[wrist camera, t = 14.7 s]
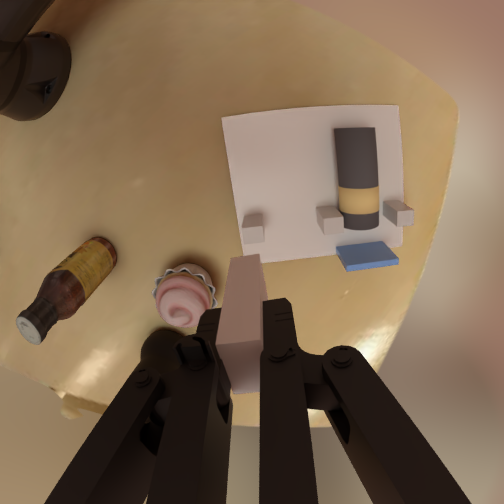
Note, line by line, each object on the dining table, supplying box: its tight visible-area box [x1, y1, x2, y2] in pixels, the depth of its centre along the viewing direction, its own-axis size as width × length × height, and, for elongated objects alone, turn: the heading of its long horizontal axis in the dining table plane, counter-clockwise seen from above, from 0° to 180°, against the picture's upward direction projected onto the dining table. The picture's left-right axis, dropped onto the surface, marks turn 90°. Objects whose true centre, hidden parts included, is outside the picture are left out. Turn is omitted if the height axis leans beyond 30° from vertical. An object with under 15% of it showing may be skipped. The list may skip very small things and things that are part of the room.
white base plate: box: [221, 105, 414, 272], centre depth 34 cm, size 20×23×7 cm
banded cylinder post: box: [334, 127, 379, 230], centre depth 33 cm, size 12×5×5 cm, turn 8°
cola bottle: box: [126, 330, 183, 381], centre depth 35 cm, size 8×8×30 cm
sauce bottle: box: [16, 237, 116, 345], centre depth 33 cm, size 7×6×20 cm
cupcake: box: [152, 263, 218, 328], centre depth 39 cm, size 9×9×10 cm
